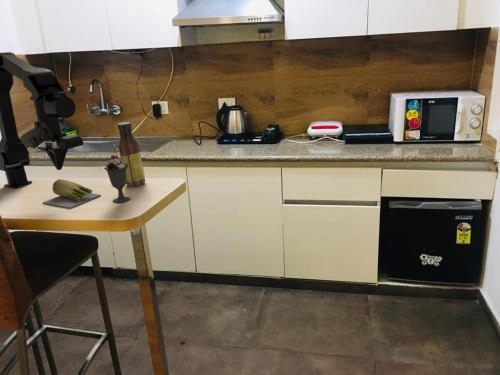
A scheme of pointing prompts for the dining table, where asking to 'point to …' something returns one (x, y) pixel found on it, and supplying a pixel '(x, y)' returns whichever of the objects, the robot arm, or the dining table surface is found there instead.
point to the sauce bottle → (130, 155)
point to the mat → (70, 201)
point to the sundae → (117, 176)
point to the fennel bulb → (70, 189)
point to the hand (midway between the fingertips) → (59, 169)
